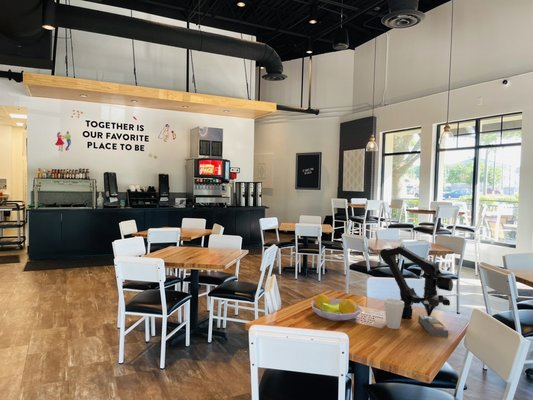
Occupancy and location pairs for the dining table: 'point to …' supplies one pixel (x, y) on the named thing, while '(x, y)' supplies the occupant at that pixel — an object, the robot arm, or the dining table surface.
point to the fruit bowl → (335, 308)
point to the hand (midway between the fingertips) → (428, 316)
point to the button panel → (430, 329)
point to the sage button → (432, 321)
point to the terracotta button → (437, 326)
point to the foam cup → (393, 312)
